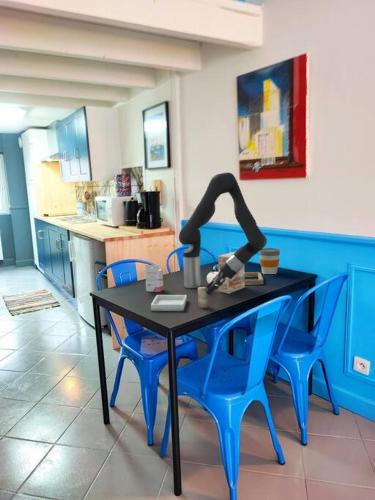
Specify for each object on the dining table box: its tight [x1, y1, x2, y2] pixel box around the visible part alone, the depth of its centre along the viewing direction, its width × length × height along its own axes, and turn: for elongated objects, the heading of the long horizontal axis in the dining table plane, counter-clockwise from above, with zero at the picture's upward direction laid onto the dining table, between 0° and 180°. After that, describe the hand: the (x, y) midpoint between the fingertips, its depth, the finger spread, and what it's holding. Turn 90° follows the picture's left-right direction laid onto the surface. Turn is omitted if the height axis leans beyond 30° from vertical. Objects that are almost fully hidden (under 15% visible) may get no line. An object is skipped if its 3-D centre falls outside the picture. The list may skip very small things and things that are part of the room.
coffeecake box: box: [217, 251, 246, 295], centre depth 200 cm, size 15×7×20 cm, turn 137°
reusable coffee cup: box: [258, 247, 281, 275], centre depth 233 cm, size 12×13×15 cm
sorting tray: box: [150, 294, 188, 312], centre depth 178 cm, size 15×15×3 cm
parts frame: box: [245, 271, 264, 286], centre depth 219 cm, size 19×19×2 cm
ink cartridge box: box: [144, 264, 164, 293], centre depth 204 cm, size 9×5×15 cm, turn 70°
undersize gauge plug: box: [197, 286, 209, 309], centre depth 174 cm, size 4×4×9 cm
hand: (207, 290), depth 173 cm, fingers open, 8 cm apart
